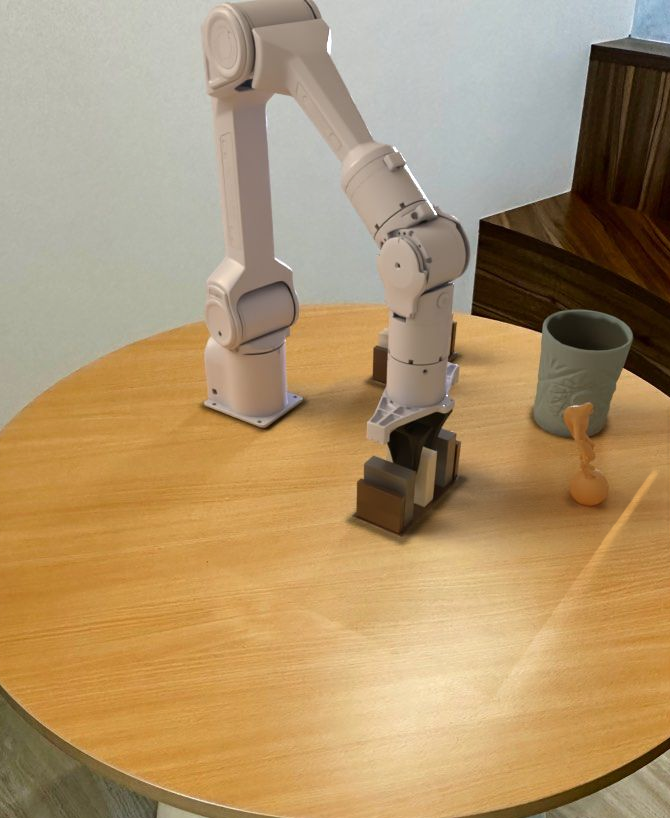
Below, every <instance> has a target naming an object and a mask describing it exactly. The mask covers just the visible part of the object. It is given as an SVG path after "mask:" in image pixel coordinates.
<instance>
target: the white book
mask: <svg viewBox="0 0 670 818" xmlns="http://www.w3.org/2000/svg"><path fill="white" fill-rule="evenodd" d="M385 445H386V446H385V460H387V461H390V462H392V463H393V461H392V457H391V454H390V450H389V447H388V445H387V443H386V444H385ZM436 458H437V452H436V451H433V450H431V449H428V448H425V447H423V449H422V452H421V457H420V463H419V468H418V472H417V474H416V479H415V493H414V503H415V504H418V505H420V506H423V507H425V506H426V505H427V504H428V503H429V502H430V501H431V500H432V499H433V491H434V480H435V469H436Z"/></svg>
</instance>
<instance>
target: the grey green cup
mask: <svg viewBox="0 0 670 818" xmlns="http://www.w3.org/2000/svg"><path fill="white" fill-rule="evenodd" d="M541 330H542V331H541V340H540V355H539V363H538V372H537V382H536V392H535V396H534V397H535V398H534V404H533V418H534V421H535V423H536V424H537V426H539V427H540V428H541V429H542V430H543V431H546V432H548V433H550V434H553V435H556V436H559V437H564V438H570V439H571V438H573V437H572V435H571V431H570V430H569V429H568V427H567V425H566V423H565V421H564V411H565V409H566V408H568V407H569V406H574V405H576V406H579V405H583V404H585V403H591V404H592V405H593V408H592V409H593V410H594V411H593V413H591V414H590V415H589V416H588V417H589V424H588V427H587V430H586V435H587V436H588V437H591V436H594V435H596V434H598V433H599V432H600V431H601V430H603V428H604V425H605V424H606V421H607V417H608V415H609V411H610V408H611V402H612V399H613V396H614V394H615V392H616V390H617V383H618V381H619V378H620V377H621V374H622V372H623V369H624V366H625V364H626V361H627V357H628V355H629V352H630V349H631V346H632V344H633V340H634V335H633V332H632V330H631V327H630V326H628V325H627V324H626V322H624V321H623V320H621V319H619V318H617V317H615V316H614V315H610V314H607V313H604V312H600V311H595V310H589V309H567V310H561V311H557V312H554V313H552V314H551V315H549V316H547V317H546V319H544V321H543V323H542V329H541ZM573 439H574V438H573Z"/></svg>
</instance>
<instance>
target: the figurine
mask: <svg viewBox="0 0 670 818" xmlns="http://www.w3.org/2000/svg"><path fill="white" fill-rule="evenodd" d="M592 408H593V405H592V404H591V403H585V404H583V405H579V406H576V405H574V406H569V407H568V408H566V409H565V411H564V421H565V423H566V425H567V427H568V429H569V430H570V431H571V435H572V437H573V440H574V442H575V444H576V447H577V448H578V451H579V461H580V464H579V468H580V470H578V471H577V472H576V473H575V474H574V475H573V477H572V478H571V479H570V482H569V491H570V495H571V497H572V499H573V500H574V501H575V502H576V503H578V504H579V505H582V506H586V507H593V506H597V505H599V504H600V503H602V502H603V501H604V500H605V499H606V498H607V496H608V494H609V489H610V485H609V480H608V478H607V476H606V475H605V474H604V473H603V472H602V471H601V470H599V469H598V468H597V469H596V468H595V466H593V465H591V463H592V462H593V461H594V460H595V459H596V457H597V455H596V452H595V450H594V449H595V447H596V444H595V443H594V442H593V440H592V439H591V438H590V436H587V435H586V430H587V427H588V424H589V417H588V416H589V415H590V414H591V413H593V411H594V410H593V409H592Z"/></svg>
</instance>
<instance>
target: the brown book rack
mask: <svg viewBox="0 0 670 818" xmlns="http://www.w3.org/2000/svg"><path fill="white" fill-rule="evenodd" d="M457 435H458V434H457V432H454V431H451V430H448V429H446V428H443V427H442V428H441V430H440V432H439V435H438V437H437V439H436V442H435V445H434V448H433V451H436V452H437V458H436V469H435V480H434V491H433V499H432V500H431V501H430V502H429V503H428V504H427V505H426V506H425V507H423V506H420V505H418V504H415V503H414V493H415V479H416V471H413V470H411V469H408V468H405V467H403V466H400V465H397V464H395V463H392V462H390V461H387V460H386V459H384V458H383V457H382V458H381V457H379V456H377V455H372V456H371V457H369V458H368V459H367V460H366V461H365V462H364V463H363V478H359V479H358V480H357V481H356V506H355V507H356V511H355V512H354V513H353V514H352V515H351V516H352V517H353V518H354V519H357V520H360V521H362V522H364V523H367V524H369V525H371V526H373V527H376V528H379V529H381V530H384V531H385V532H388V533H391V534H393V535H395V536H398V537H400V538H403V536H405V534H406V533H407V532H408V531H410V530H411V528H412V527H414V525H415V524H416V523H417V522H418V521H419V520H420V519H421V518H422V517H423V516H424V515H425V514H426V513H427V511H429V510H430V509H431V508H432V507H433V506H434V505H435V504H436V503H437V502H438V501H439V500H440V499H441V498H442V497H443V496H444V495H445V494H446V492H448V491H449V490H450V488H451V487H453V486H454V485H455V484H456V483H457V482H458V480H460V478H462V474H461V475H460V474H459V464H460V455H461V446H462V441H461V440H458V439H457Z"/></svg>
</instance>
